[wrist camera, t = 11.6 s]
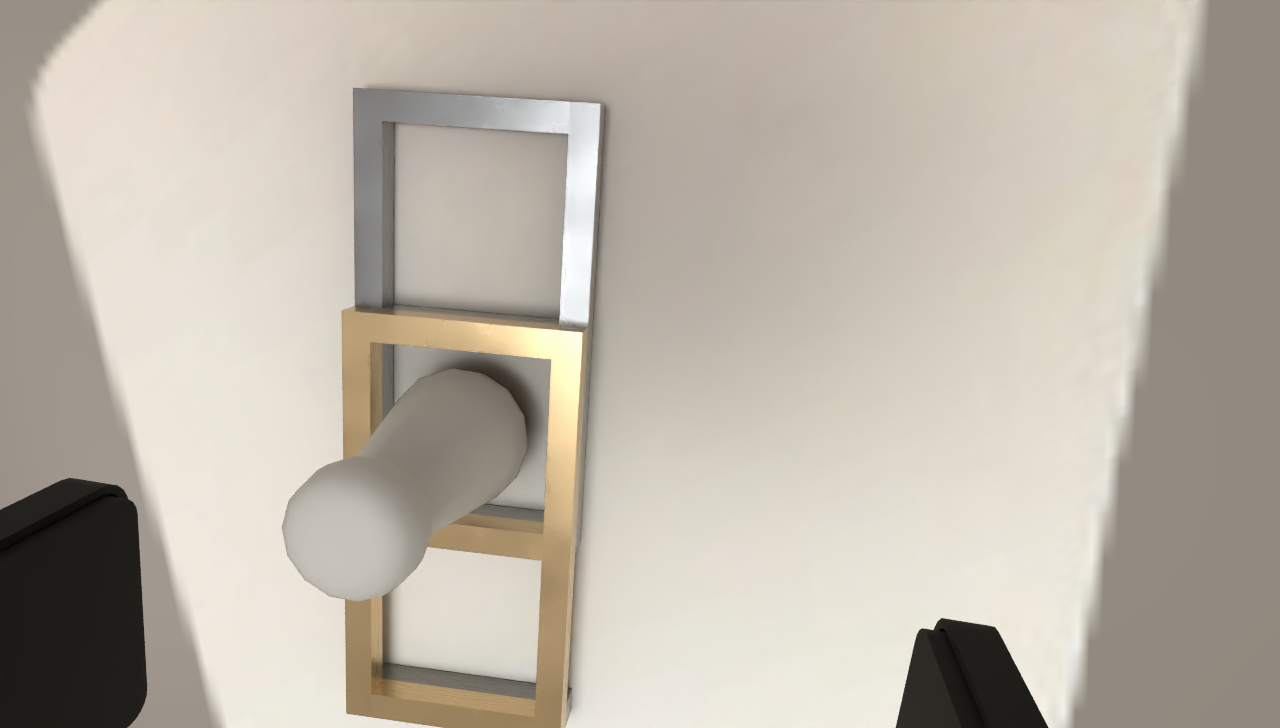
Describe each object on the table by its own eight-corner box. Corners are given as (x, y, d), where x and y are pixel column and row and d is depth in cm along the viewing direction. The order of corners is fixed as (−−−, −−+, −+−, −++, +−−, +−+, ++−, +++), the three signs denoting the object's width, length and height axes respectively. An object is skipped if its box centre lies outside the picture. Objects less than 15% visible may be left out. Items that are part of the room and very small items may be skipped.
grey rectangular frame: (366, 90, 34) (352, 88, 33) (605, 106, 33) (600, 103, 32) (368, 515, 39) (356, 525, 37) (580, 540, 38) (575, 551, 36)
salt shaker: (547, 480, 37) (446, 636, 25) (424, 486, 38) (266, 640, 25) (531, 352, 36) (416, 447, 23) (404, 361, 37) (228, 458, 24)
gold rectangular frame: (367, 301, 36) (341, 310, 34) (593, 322, 35) (582, 332, 33) (369, 682, 41) (346, 713, 38) (570, 711, 40) (559, 744, 37)
